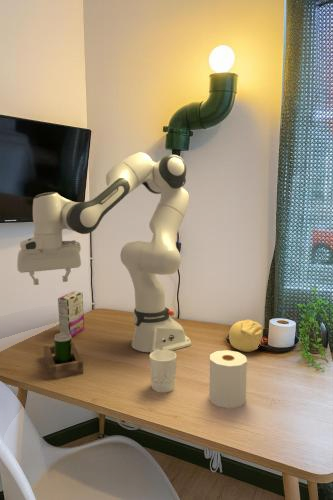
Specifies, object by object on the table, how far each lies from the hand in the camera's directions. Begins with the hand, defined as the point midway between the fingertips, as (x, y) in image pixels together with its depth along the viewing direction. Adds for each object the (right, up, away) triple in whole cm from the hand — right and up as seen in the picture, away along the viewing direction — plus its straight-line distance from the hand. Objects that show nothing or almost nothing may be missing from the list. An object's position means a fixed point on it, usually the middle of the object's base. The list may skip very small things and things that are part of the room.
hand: (50, 282), depth 129 cm
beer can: (+6, -28, -4) cm, 29 cm away
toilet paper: (+56, -31, -21) cm, 67 cm away
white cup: (+38, -30, -15) cm, 50 cm away
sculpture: (+68, -26, +13) cm, 74 cm away
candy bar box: (0, -23, +28) cm, 37 cm away
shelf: (+4, -28, 0) cm, 28 cm away
